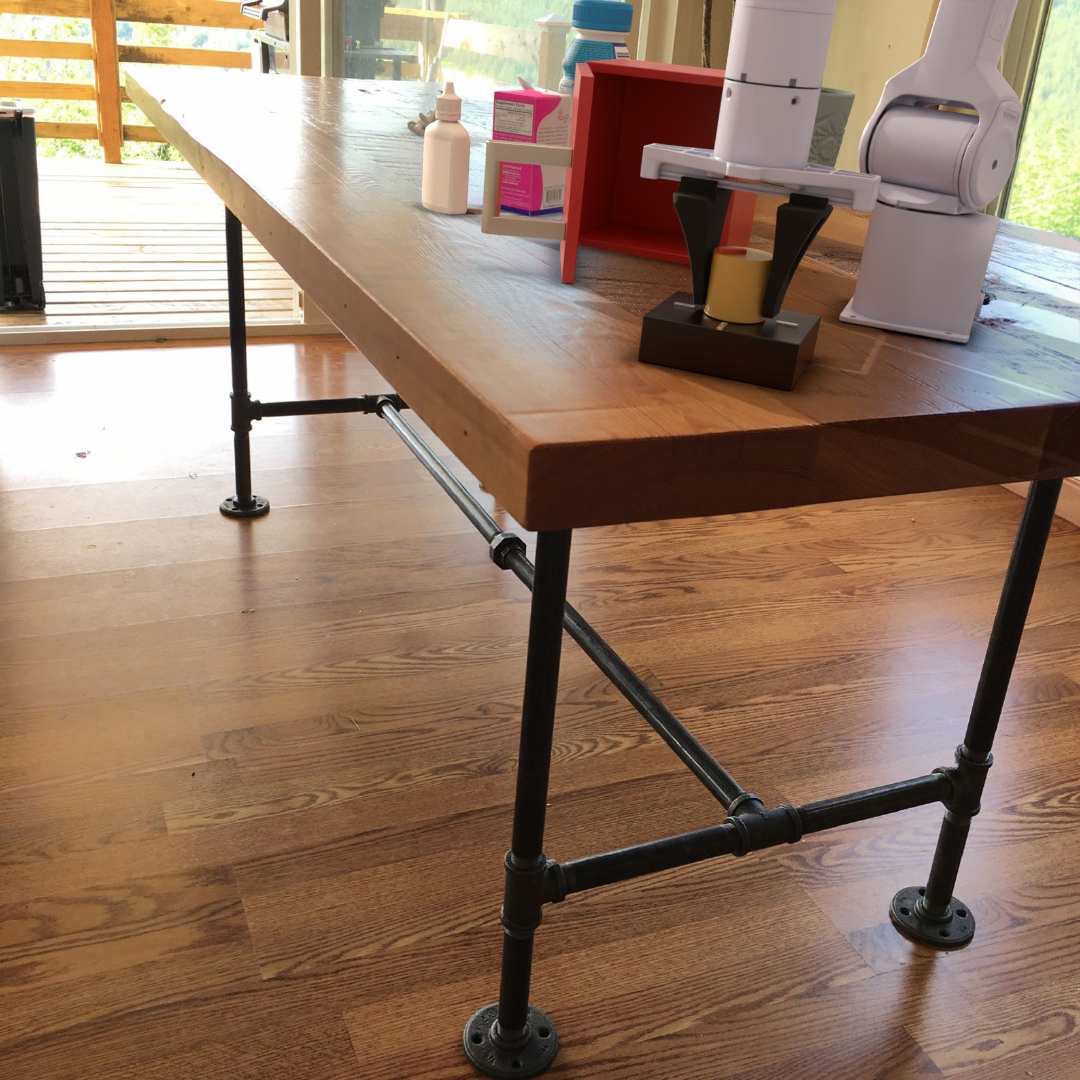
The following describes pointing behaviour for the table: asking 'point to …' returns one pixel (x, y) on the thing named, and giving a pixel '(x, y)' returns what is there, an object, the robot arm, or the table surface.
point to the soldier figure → (423, 121)
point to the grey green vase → (829, 126)
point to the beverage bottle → (595, 37)
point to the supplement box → (532, 123)
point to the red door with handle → (547, 156)
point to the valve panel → (729, 343)
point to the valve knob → (738, 284)
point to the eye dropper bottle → (446, 158)
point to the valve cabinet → (617, 151)
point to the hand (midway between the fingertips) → (735, 308)
